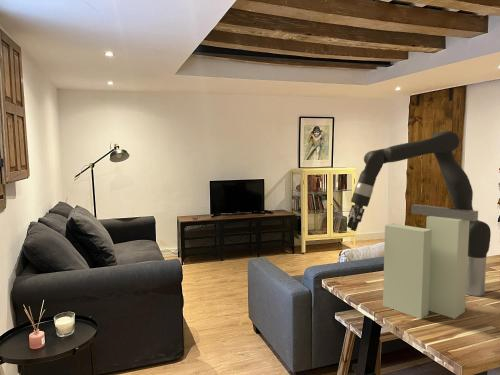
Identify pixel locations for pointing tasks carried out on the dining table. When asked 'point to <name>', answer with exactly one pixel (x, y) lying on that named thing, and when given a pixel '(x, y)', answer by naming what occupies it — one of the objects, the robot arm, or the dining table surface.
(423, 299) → the block
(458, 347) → the dining table surface
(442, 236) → the stand
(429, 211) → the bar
